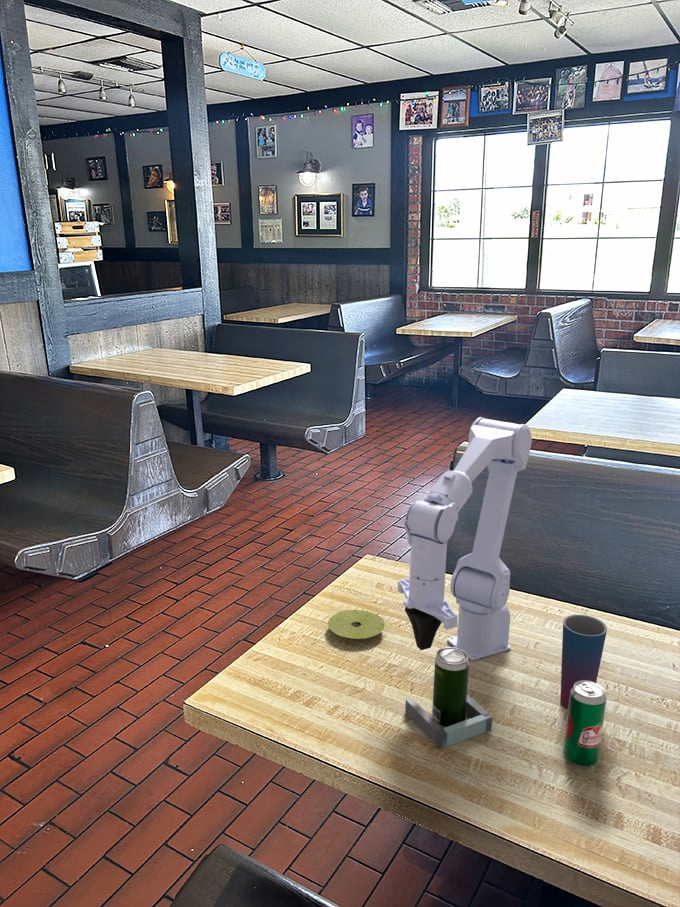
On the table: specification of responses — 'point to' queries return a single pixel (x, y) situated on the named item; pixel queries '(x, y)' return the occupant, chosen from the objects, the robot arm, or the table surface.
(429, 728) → the dock
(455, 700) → the beer can
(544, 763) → the table surface
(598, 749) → the soda can
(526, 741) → the table surface
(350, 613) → the green disc with hole
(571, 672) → the cup
